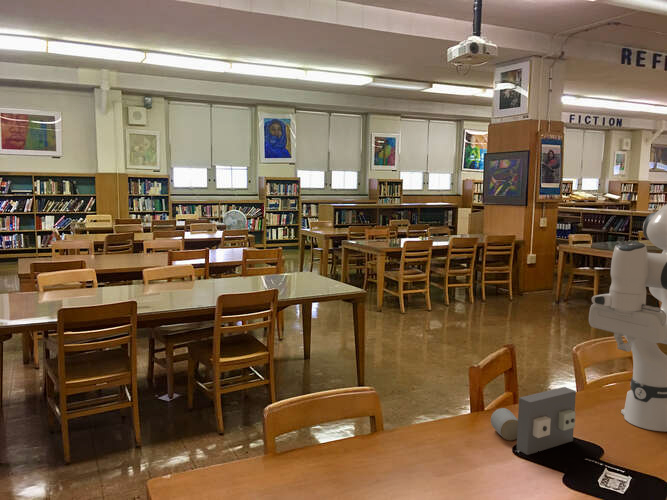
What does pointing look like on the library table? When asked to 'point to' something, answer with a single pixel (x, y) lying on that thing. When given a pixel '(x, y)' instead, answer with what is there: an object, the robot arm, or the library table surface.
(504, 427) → the ceramic mug
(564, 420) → the two dot button
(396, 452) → the library table surface
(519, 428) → the button panel
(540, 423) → the one dot button
